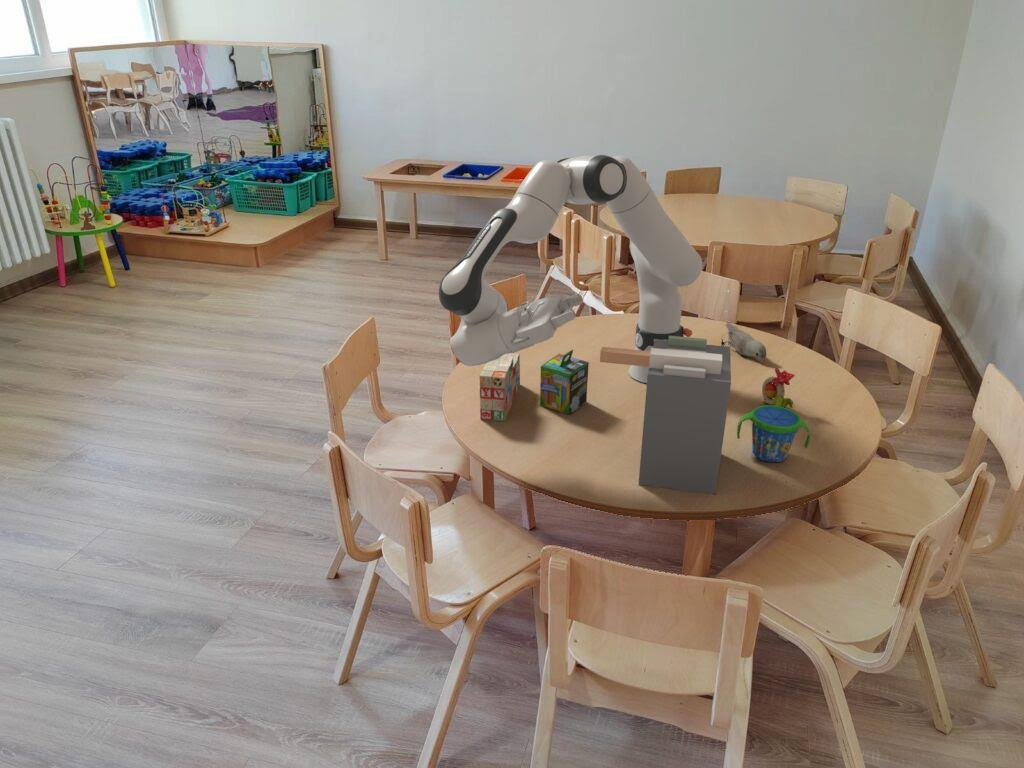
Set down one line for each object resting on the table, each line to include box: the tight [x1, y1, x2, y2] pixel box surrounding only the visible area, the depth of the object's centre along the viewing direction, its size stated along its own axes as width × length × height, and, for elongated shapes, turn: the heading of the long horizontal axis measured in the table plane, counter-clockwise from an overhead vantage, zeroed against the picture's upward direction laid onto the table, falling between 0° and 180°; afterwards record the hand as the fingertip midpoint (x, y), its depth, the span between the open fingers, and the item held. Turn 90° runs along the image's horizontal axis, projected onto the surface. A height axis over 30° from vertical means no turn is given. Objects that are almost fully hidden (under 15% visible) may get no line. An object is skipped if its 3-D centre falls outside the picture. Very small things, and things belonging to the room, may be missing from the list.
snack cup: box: [736, 404, 811, 463], centre depth 173 cm, size 16×10×10 cm
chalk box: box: [539, 349, 590, 416], centre depth 195 cm, size 9×9×15 cm
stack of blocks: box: [479, 352, 521, 422], centre depth 197 cm, size 21×6×12 cm, turn 169°
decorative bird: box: [720, 322, 767, 364], centre depth 225 cm, size 5×16×8 cm, turn 29°
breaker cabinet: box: [638, 336, 732, 496], centre depth 164 cm, size 16×18×28 cm
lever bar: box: [599, 346, 722, 375], centre depth 156 cm, size 24×3×3 cm, turn 76°
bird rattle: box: [761, 366, 795, 409], centre depth 194 cm, size 6×11×9 cm
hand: (578, 306), depth 160 cm, fingers open, 8 cm apart
